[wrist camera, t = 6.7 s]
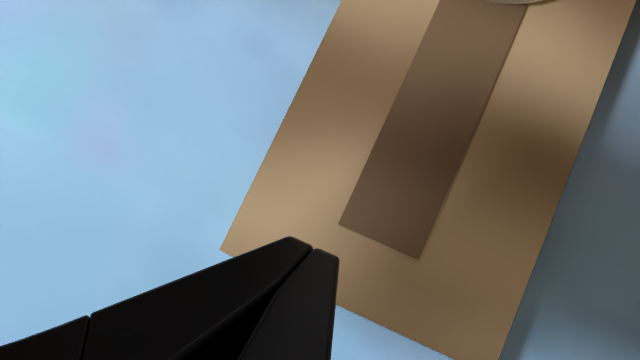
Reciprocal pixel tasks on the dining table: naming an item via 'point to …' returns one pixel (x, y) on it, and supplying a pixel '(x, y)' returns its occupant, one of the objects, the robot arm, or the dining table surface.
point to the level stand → (435, 156)
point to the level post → (514, 1)
